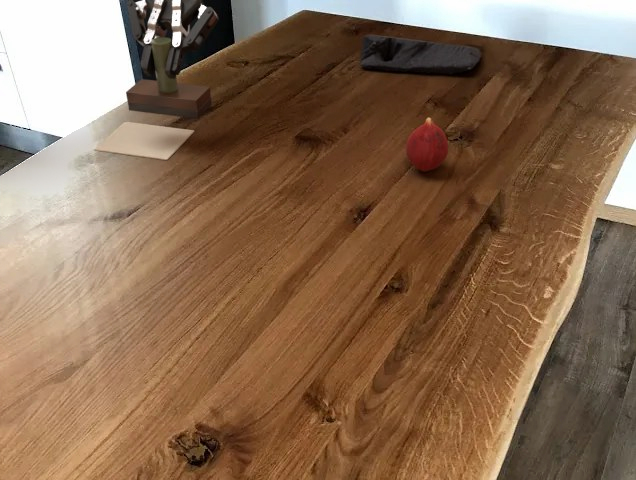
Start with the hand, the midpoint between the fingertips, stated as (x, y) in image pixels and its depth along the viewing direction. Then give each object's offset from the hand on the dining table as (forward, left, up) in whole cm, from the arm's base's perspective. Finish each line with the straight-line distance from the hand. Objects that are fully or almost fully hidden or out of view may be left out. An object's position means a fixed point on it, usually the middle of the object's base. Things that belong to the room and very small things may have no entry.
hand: (159, 74), depth 102 cm
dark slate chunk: (+30, +46, -12) cm, 56 cm away
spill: (-5, +2, -12) cm, 13 cm away
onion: (+38, +4, -12) cm, 40 cm away
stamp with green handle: (0, +2, -6) cm, 6 cm away
